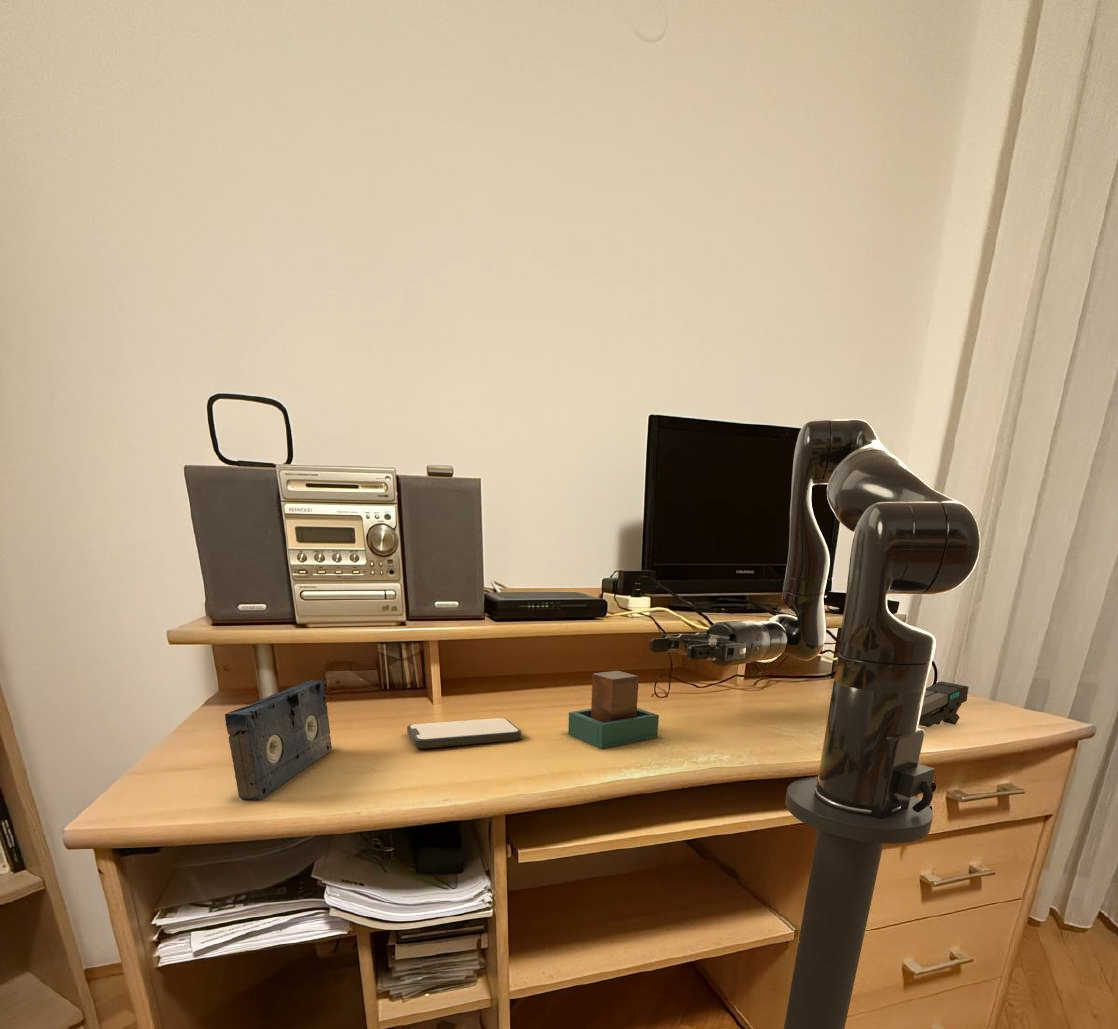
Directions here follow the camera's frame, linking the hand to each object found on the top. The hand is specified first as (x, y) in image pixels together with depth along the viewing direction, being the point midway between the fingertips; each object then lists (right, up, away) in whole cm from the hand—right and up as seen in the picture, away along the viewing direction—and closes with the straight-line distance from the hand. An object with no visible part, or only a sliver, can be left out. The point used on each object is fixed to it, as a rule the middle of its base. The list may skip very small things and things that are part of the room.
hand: (669, 649), depth 93 cm
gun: (+42, -13, +4) cm, 44 cm away
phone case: (-32, -14, -4) cm, 35 cm away
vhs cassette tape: (-51, -19, -19) cm, 58 cm away
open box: (-9, -14, -2) cm, 17 cm away
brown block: (-9, -13, -2) cm, 16 cm away
